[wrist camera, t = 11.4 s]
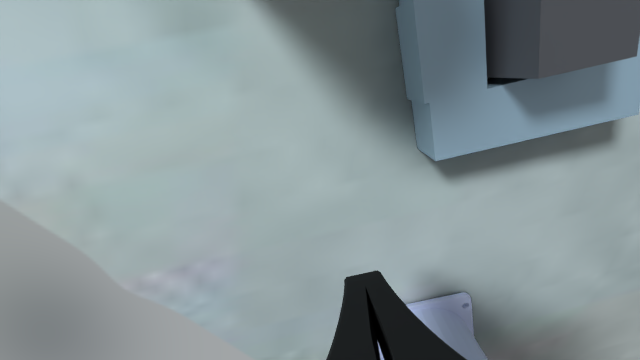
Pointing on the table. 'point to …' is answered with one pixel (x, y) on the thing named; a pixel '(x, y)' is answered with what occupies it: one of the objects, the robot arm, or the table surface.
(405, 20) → the socket plate
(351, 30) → the table surface
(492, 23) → the plug
